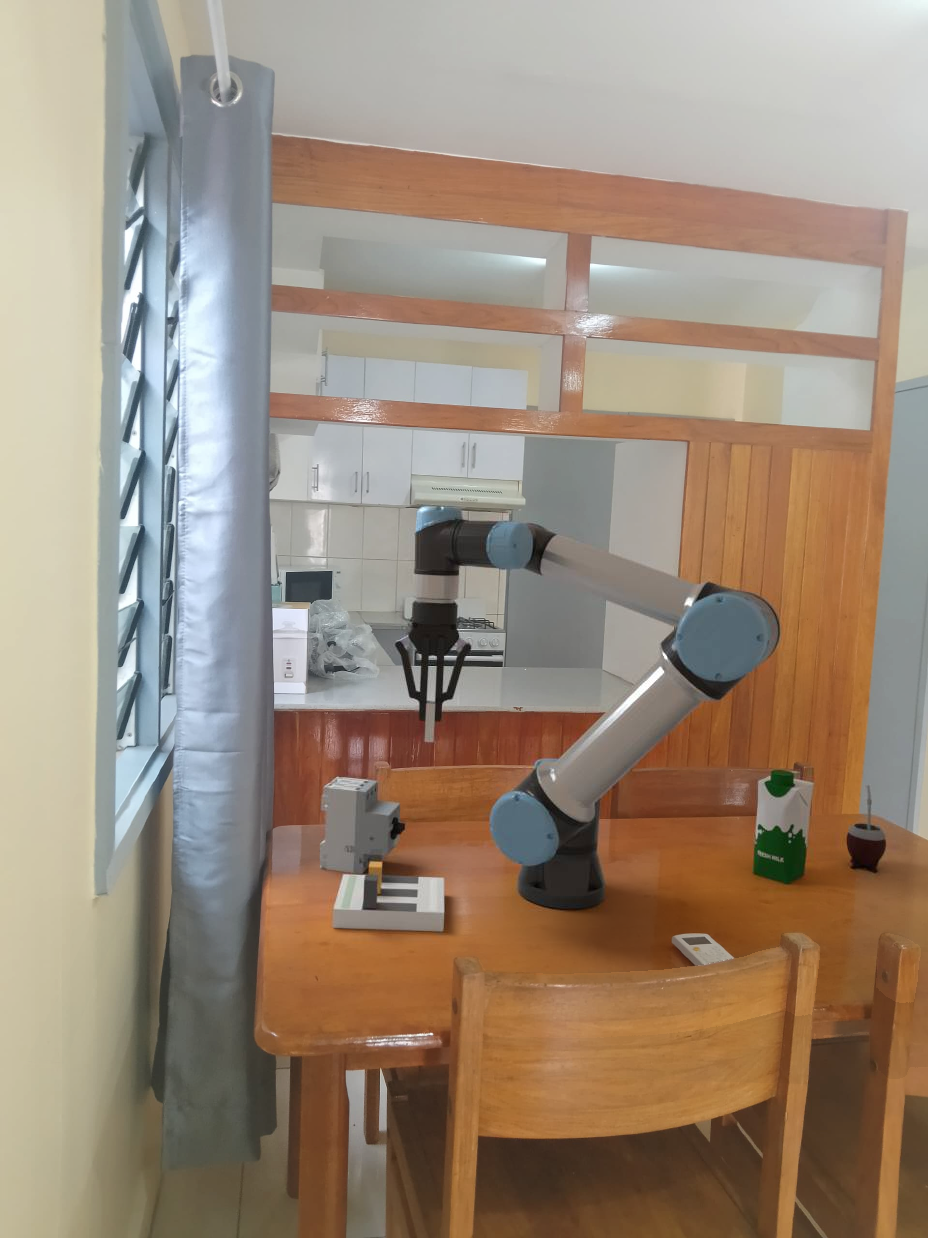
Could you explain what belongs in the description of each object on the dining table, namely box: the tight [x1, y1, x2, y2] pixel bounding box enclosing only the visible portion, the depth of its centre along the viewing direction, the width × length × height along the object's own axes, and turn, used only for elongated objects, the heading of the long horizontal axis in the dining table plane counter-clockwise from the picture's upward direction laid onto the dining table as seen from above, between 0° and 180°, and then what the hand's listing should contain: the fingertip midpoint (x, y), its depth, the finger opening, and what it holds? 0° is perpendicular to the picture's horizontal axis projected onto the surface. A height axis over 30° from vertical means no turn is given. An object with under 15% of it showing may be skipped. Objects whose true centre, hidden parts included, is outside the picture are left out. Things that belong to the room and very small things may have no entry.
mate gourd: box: [846, 784, 887, 874], centre depth 174 cm, size 8×8×15 cm
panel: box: [332, 873, 445, 932], centre depth 144 cm, size 17×14×3 cm
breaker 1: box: [369, 849, 384, 864], centre depth 149 cm, size 2×2×4 cm
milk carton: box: [752, 769, 815, 885], centre depth 167 cm, size 9×9×20 cm
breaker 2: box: [363, 873, 378, 908], centre depth 138 cm, size 2×2×4 cm
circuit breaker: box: [319, 776, 406, 875], centre depth 162 cm, size 8×14×15 cm, turn 78°
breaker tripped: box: [368, 861, 383, 894], centre depth 143 cm, size 2×2×4 cm
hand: (429, 740), depth 150 cm, fingers closed
